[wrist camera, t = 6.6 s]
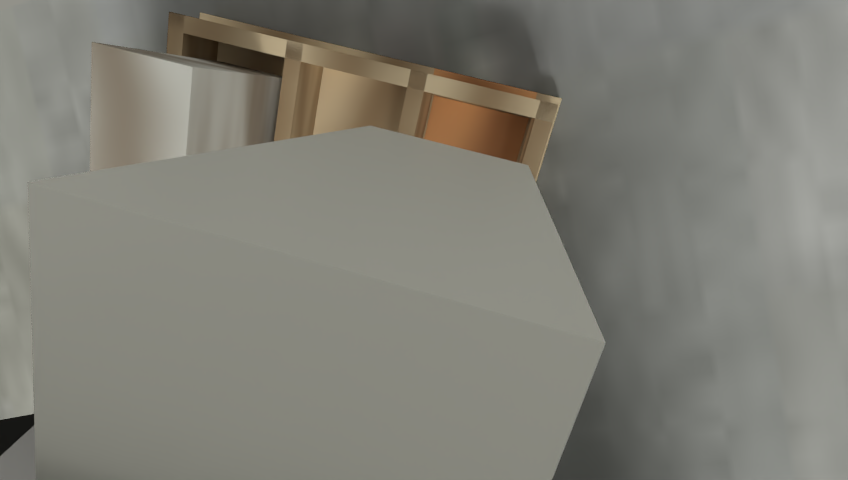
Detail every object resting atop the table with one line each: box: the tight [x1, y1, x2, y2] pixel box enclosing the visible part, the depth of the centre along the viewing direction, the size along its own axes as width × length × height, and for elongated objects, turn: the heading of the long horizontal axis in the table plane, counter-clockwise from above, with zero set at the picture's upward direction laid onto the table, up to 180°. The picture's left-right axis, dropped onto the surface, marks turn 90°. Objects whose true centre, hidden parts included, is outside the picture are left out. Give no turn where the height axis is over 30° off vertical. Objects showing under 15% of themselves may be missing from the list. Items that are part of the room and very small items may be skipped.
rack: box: [90, 12, 562, 182], centre depth 23 cm, size 20×14×10 cm
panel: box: [28, 126, 606, 480], centre depth 9 cm, size 4×10×9 cm, turn 167°
